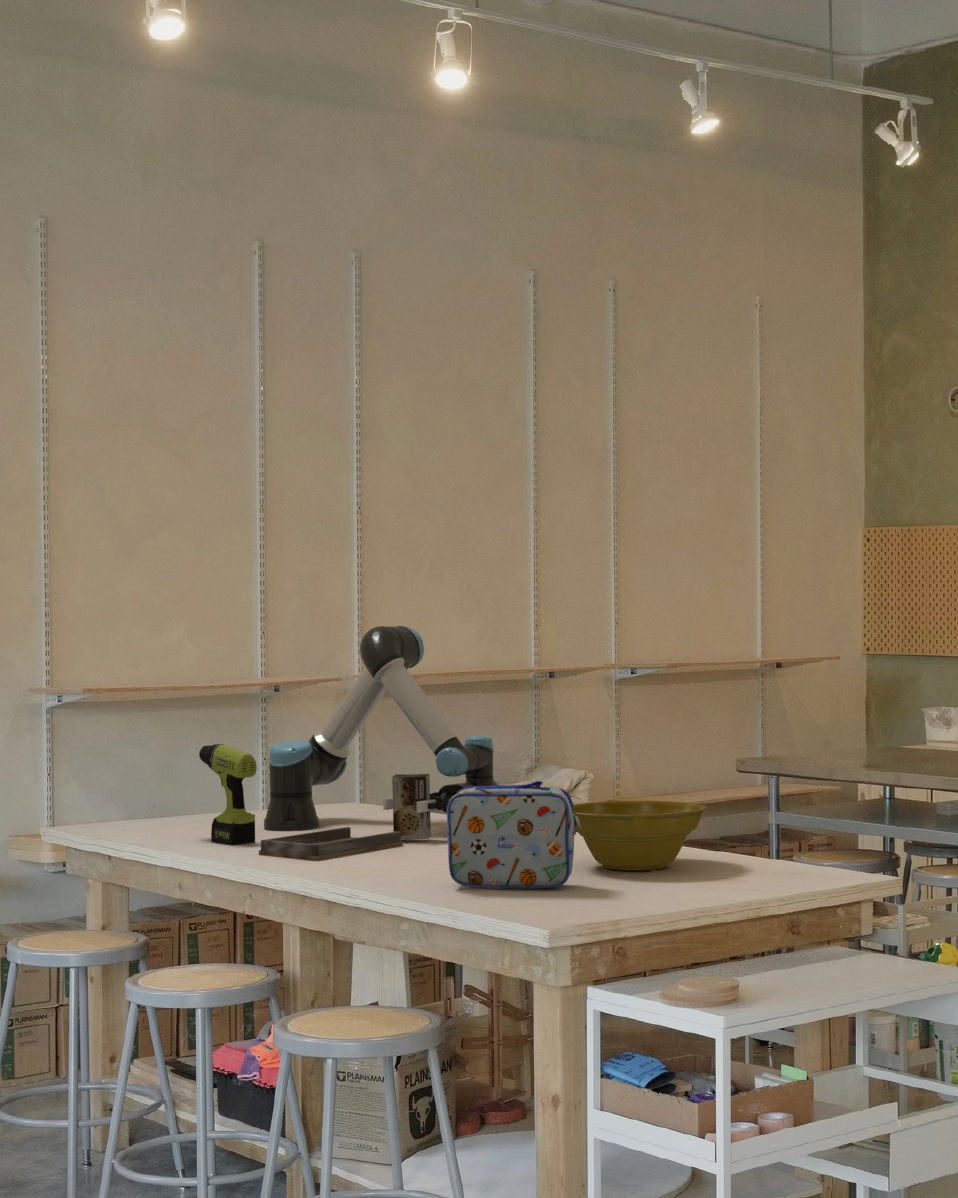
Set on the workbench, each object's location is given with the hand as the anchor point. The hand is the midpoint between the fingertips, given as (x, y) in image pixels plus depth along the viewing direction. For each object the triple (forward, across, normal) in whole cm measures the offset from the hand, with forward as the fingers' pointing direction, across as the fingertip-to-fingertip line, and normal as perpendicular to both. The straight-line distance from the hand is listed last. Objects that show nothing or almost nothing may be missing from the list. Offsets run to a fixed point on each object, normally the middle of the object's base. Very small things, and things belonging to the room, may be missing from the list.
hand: (400, 806), depth 386 cm
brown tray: (+19, +6, -9) cm, 22 cm away
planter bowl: (+3, -72, -9) cm, 73 cm away
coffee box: (-4, 0, -9) cm, 10 cm away
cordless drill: (+21, +43, -10) cm, 49 cm away
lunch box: (+39, -66, -9) cm, 77 cm away
